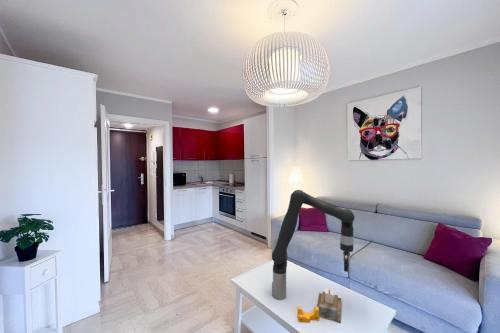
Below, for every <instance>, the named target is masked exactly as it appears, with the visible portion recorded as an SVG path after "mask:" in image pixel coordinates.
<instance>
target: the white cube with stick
mask: <svg viewBox="0 0 500 333" xmlns="http://www.w3.org/2000/svg"><path fill="white" fill-rule="evenodd" d="M324 292H325V302H326V303H330V304H333V303H334V297H335V289H333V288H332V289H330V288H329V287H328V288H327V287H326V288H325V291H324Z"/></svg>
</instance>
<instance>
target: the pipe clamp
mask: <svg viewBox="0 0 500 333" xmlns="http://www.w3.org/2000/svg"><path fill="white" fill-rule="evenodd" d="M296 313H297V320H298V323H311V321H316V322H318V321H320V317H319V308H318V307H317V306H314V308H313V311H311V312H308V313H307V312H305V311H303V309H302V306H301V305H299V306H297V312H296Z"/></svg>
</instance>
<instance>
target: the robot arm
mask: <svg viewBox="0 0 500 333" xmlns="http://www.w3.org/2000/svg"><path fill="white" fill-rule="evenodd" d="M289 197H290V198H289V203H288V206H287V207H288V208H287V211H286V213H285V215H284V218H283V220H282V222H281V225H280V229H279V233H278V236H277V242H276V245H275V246H274V249H273V251H272V254H271V260H272V261H273V265H272V282H271V297H273V298H274V299H276V300H278V301H279V300H280V301H281V300H285V299H286V298H287V267H288V251H287V250H288V247H289V244H290V242H291V241H292V239H293V236H294V234H295V230H296V229H297V226H298V220H299V213H300V211H301V208H302V207H303V205H308V206H310V207H312V208H314V209H316V210H318V211H320V213H323V214H325V215H329V216H330V217H334V218H336V219H338V220H339V221H341V222H340V223H341V224H340V225H341V226H340V227H341V228H340V239H339V241H340V242H339V249H340V251H342V261H343V271H344V272H347V273H348V272H349V266H350V265H349V264H350V257H351V253H352V252H354V242H355V240H354V226H353V222H354V221H355V214H354V213H353V211H352V210H351V209H347V208H345V209H343V208H341V207H339V206H337V205H336V204H332V203H331V202H327V201H325V200H322V199H319V198H317V197H315V196H312V195H310V194H308V193H306V192H305V191H303V190H300V189H296V190H294V191H293V192H292V193H291V194H290V196H289Z"/></svg>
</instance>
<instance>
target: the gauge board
mask: <svg viewBox="0 0 500 333" xmlns="http://www.w3.org/2000/svg"><path fill="white" fill-rule="evenodd" d="M316 307H318V308H319V318H322V319H324V320H328V321H332V322H335V323H339V324H341V323H342V298H341V297H339V295H338V294H334V303H333V304H330V303H326V302H325V291H322V292H318V299H317V303H316Z"/></svg>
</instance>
